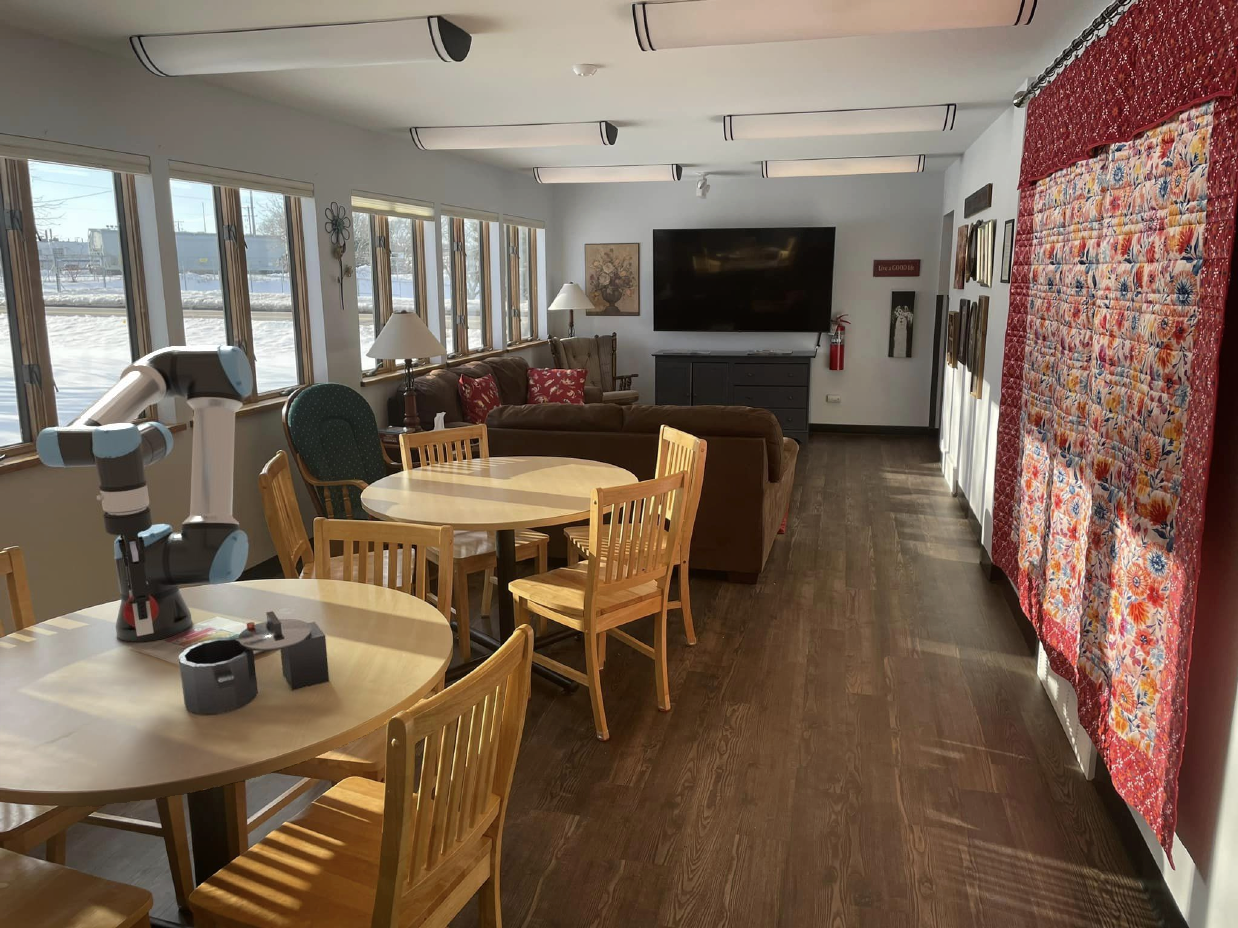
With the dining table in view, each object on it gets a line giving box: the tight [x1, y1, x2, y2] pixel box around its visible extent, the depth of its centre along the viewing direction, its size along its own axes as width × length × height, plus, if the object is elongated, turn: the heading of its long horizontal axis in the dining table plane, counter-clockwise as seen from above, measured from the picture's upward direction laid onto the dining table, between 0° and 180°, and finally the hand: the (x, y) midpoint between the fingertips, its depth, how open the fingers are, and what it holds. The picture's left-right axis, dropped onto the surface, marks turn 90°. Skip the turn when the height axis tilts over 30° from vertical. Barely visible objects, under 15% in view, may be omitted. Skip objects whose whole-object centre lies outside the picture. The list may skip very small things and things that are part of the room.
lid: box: [237, 610, 311, 652], centre depth 172 cm, size 13×13×4 cm
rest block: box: [279, 621, 330, 691], centre depth 176 cm, size 8×7×10 cm
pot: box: [178, 637, 259, 716], centre depth 168 cm, size 21×12×10 cm, turn 32°
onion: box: [123, 595, 159, 627], centre depth 167 cm, size 6×6×8 cm
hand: (143, 627), depth 168 cm, fingers closed on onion, 6 cm apart
